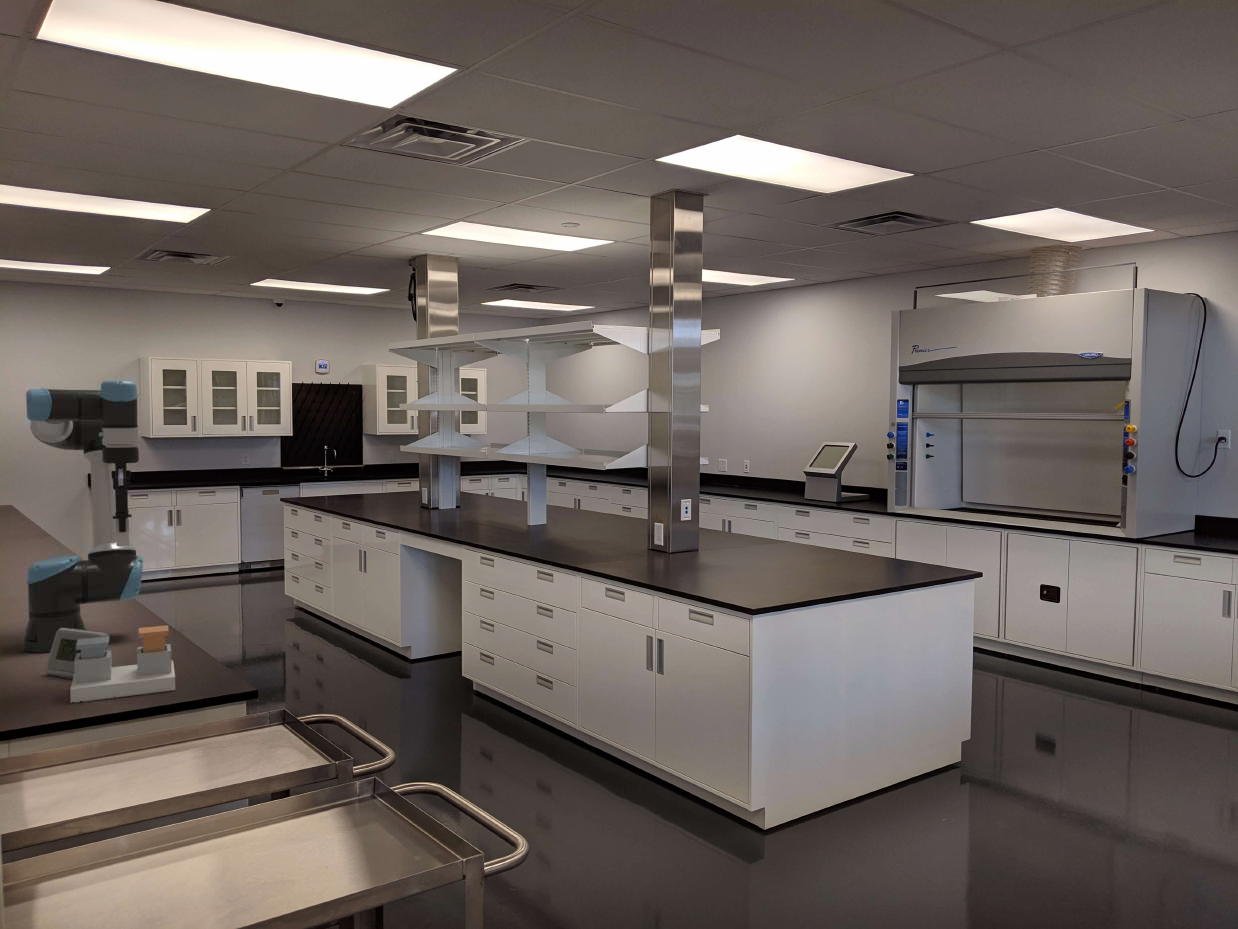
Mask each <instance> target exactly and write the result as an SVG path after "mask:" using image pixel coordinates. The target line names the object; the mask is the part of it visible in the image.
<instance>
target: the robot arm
mask: <svg viewBox="0 0 1238 929" xmlns="http://www.w3.org/2000/svg"><path fill="white" fill-rule="evenodd" d="M137 387H138V386H137V384H136V382H134V381H130V380H129V381H128V380H105V381H102V382H101V383H100V389H55V388H52V389H51V388H48V389H47V388H37V389H36V388H35V389H34V388H32V389H28V390H27V391H26V395H25V397H26V398H25V400H26V401H25V402H26V403H25V405H26V417H27V419H28V420H29V421H30V424H29V425H30V430H31V433H32V435H33V436H34V438H35V439H36V440H37V441H39V442H41V443H43V444H45V445H47V446H49V447H51V448H56V449H58V450H59V449H60V450H64V451H65V450H66V451H67V450H68V451H83V457H84V459H86V460H87V461H88V462H89V463H90V465H89V466H90V483H91V510H92V532H93V533H92V534H93V548H92V549H91V550H89V552H88V553H87V559H86V560H80V557H79V556H78V555H75V554H74V555H73V554H72V555H64V556H57V557H52V558H47V559H42V560H38V561H36V562H33V563H32V564H31V565H30V566H29V567H28V569H27V580H26V584H27V592H28V594H27V595H28V597H27V598H28V600H27V602H28V606H27V607H28V620H27V624H26V626H25V629H24V634H23V636H22V638H21V650H22V651H23V652H27V653H50V652H51V649H52V645H53V642H54V638H55V635H56V632H57V631H58V630H59V629H60V628H68V629H81V630H88V629H87V627H86V624H85V622H84V620H83V617H82V615H81V605H83V604H94V603H105V602H116V601H118V602H121V601H124V600H125V601H126V600H132V599H135V598H136V597H138V595H139V593H140V589H141V586H142V585H141V584H142V578H143V567H144V566H143V565H144V564H143V560H144V559H143V556H140V555H137V549H136V548H135V547H133V546H132V545H131V544H130V518H132V513H131V514H130V513H129V498H128V497H129V495H128V493H129V491H128V490H129V489H130V486H131V485H130V482H131V480H130V479H131V477H132V474H131V472H132V471H131V470H127V464H135V463H136V464H137V463H138V462H139V461H140V458H139V448H138V447H137V446H138V445H139V443H140V442H139V441H140V440H139V438H140V437H139V428H138V427H139V426H138V398H139V395H138V388H137Z"/></svg>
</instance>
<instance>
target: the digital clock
mask: <svg viewBox="0 0 1238 929" xmlns="http://www.w3.org/2000/svg"><path fill="white" fill-rule="evenodd" d="M107 636H109V640H110V638H111V637H110V635H109V634H108V633H106V632H99V631H96V630H89V629H87V630H81V629H68V628H60V629H59V630H58V631H57V632H56V635H55V638H54V642H53V645H52V649H51V652H49V656H48V659H47V662H46V666H45V673H46V674H48V675H51V676H56V677H57V676H60V677H59V678H63V677H67V678H66V679H70V678H74V674H75V668H74V660H75V657H76V654H78V653H81V649H80V650H76V644H77V641H78V639H86V638H96V637H107ZM107 650H108V647H105V651H107Z"/></svg>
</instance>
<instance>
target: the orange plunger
mask: <svg viewBox="0 0 1238 929" xmlns="http://www.w3.org/2000/svg"><path fill="white" fill-rule="evenodd" d="M169 635H170V630H169V625H157V626H155V625H154V626H146V627H139V628H138V639H142V647H143V653H147V652H156V651H165V644H166V642H165V641H166V636H169Z"/></svg>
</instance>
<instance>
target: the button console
mask: <svg viewBox="0 0 1238 929" xmlns="http://www.w3.org/2000/svg"><path fill="white" fill-rule="evenodd" d="M136 649H137V651H136V660H137V661H136V662H137V663H136V664H130V665H129V664H128V665H122V666H120V665H119V666H113V664H112V663H113V662H112V658H113V657H112V649H107V651H105V657H99V658H90V659H81V653H78V654H76V657H75V660H74V668H75V674H74V678H73V679H72V682H71V686H70V692H69V693H70V704H73V703H72V702H75V703H81V702H80V701H83V702H90V701H96V700H104V699H105V700H106V698H107V699H114V697H115V698H121V697H129V696H137V695H138V696H139V695H147V694H153V693H162V692H163V693H164V692H169V691H170V692H171V691H176V673H175V665H174V660H172V647H171V644H170V643H168V644H166V643H165V651H156V652H147V653H143V646H138V647H137V648H136Z"/></svg>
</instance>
